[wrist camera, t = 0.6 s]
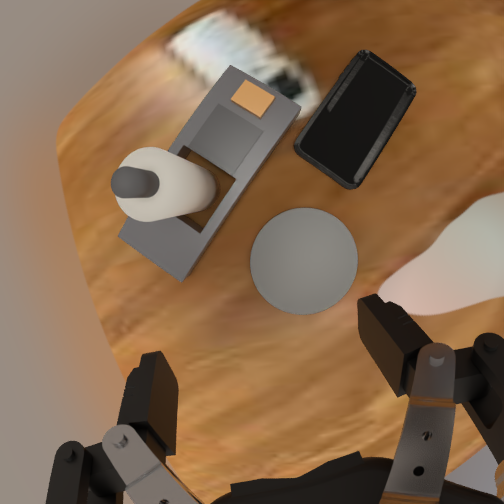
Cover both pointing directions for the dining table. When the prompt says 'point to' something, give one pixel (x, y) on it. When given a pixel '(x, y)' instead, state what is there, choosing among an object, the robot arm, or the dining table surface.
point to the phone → (356, 119)
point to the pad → (303, 261)
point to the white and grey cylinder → (162, 185)
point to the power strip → (222, 155)
